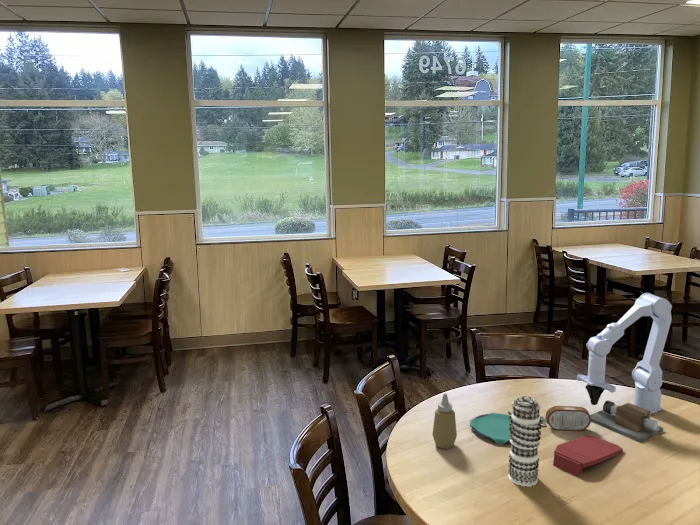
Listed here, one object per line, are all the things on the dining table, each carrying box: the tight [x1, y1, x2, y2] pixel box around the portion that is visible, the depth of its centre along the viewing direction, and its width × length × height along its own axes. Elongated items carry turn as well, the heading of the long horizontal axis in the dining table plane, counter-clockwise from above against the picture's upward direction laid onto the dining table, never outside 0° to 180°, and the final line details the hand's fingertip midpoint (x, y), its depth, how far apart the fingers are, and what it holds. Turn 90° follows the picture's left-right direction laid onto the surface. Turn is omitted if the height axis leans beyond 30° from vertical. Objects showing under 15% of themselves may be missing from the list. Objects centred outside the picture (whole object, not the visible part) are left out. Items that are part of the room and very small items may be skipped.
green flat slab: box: [469, 411, 549, 446], centre depth 195 cm, size 20×30×2 cm, turn 120°
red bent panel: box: [552, 434, 624, 477], centre depth 175 cm, size 12×5×25 cm
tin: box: [544, 405, 592, 432], centre depth 192 cm, size 15×3×8 cm, turn 84°
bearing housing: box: [590, 402, 664, 443], centre depth 195 cm, size 14×20×7 cm
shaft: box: [602, 400, 659, 430], centre depth 193 cm, size 4×18×4 cm, turn 32°
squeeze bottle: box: [432, 393, 458, 450], centre depth 182 cm, size 8×8×18 cm
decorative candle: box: [507, 395, 543, 487], centre depth 161 cm, size 9×9×25 cm
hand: (594, 404), depth 204 cm, fingers closed
